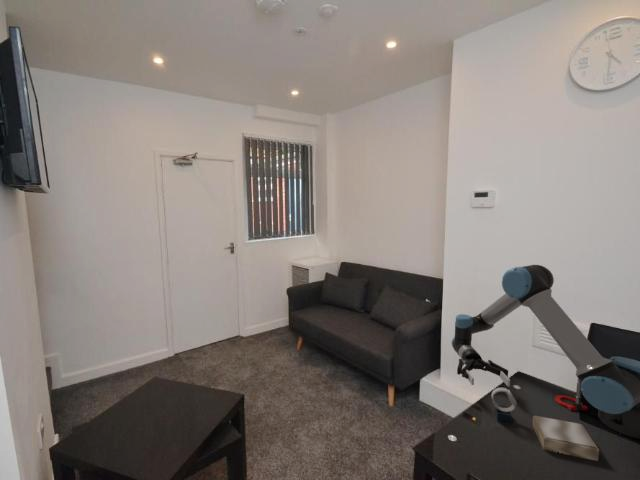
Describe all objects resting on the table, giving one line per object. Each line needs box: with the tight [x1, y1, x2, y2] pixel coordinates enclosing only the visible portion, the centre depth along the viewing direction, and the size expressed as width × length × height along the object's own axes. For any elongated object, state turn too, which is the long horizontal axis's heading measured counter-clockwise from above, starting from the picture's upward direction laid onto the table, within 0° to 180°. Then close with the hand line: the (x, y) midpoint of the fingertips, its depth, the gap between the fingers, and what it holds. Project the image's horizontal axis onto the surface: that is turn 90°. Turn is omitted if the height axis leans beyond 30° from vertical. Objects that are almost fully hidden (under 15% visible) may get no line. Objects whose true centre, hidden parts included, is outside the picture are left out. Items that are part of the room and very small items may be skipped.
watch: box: [491, 386, 518, 425], centre depth 116 cm, size 6×8×11 cm
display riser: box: [532, 415, 600, 462], centre depth 104 cm, size 14×12×4 cm
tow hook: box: [554, 377, 589, 412], centre depth 124 cm, size 8×13×9 cm
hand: (490, 382), depth 125 cm, fingers open, 13 cm apart
